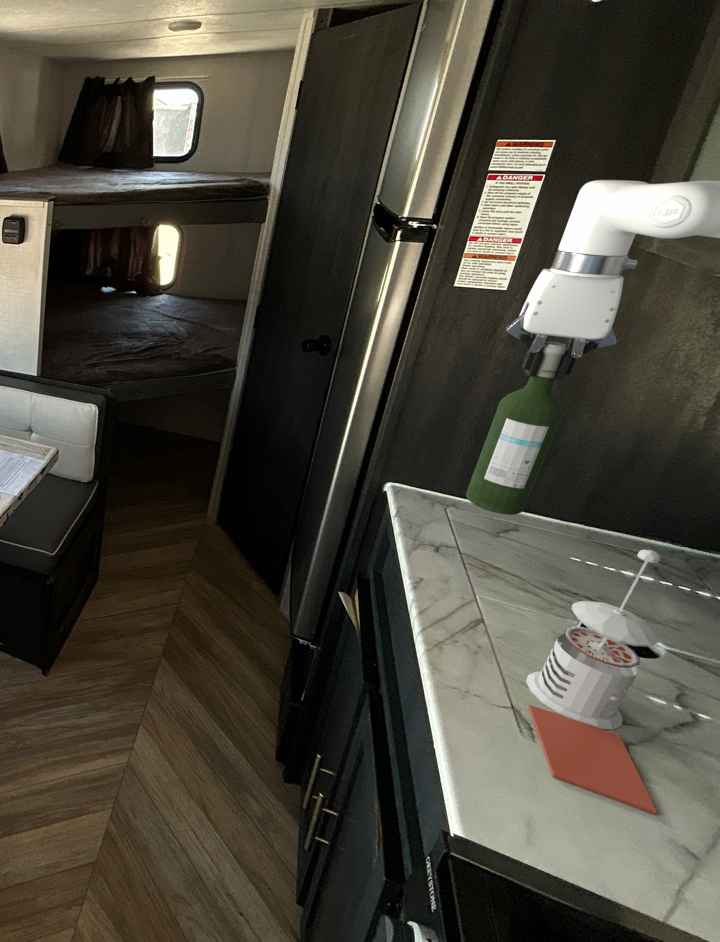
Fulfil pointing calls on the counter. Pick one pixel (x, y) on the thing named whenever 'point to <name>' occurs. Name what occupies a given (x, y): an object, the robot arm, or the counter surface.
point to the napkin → (590, 758)
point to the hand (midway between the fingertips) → (543, 375)
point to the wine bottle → (518, 440)
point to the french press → (594, 661)
